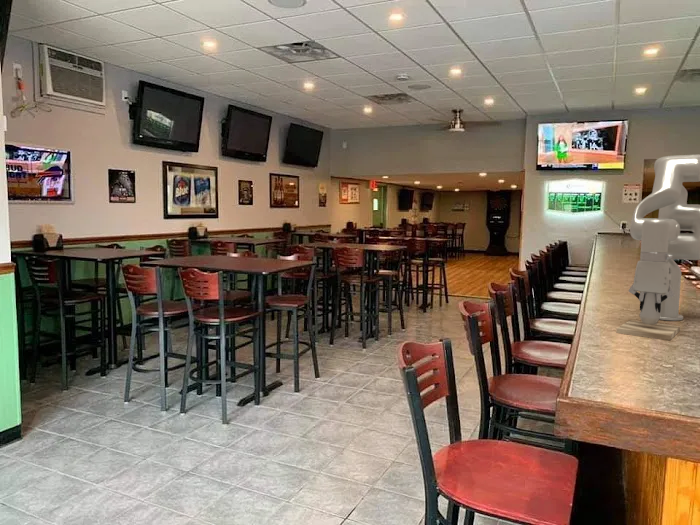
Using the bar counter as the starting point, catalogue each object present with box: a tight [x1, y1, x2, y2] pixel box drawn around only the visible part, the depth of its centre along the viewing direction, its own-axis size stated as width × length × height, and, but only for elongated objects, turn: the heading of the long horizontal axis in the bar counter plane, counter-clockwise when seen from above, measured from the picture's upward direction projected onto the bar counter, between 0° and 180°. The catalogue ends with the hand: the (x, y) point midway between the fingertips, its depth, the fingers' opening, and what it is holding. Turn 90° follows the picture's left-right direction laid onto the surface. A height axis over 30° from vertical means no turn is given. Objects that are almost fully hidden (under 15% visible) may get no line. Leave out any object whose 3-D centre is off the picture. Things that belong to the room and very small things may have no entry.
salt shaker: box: [639, 290, 660, 325], centre depth 171 cm, size 6×6×13 cm
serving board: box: [616, 319, 681, 341], centre depth 172 cm, size 18×15×2 cm
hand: (649, 313), depth 171 cm, fingers closed on salt shaker, 3 cm apart
